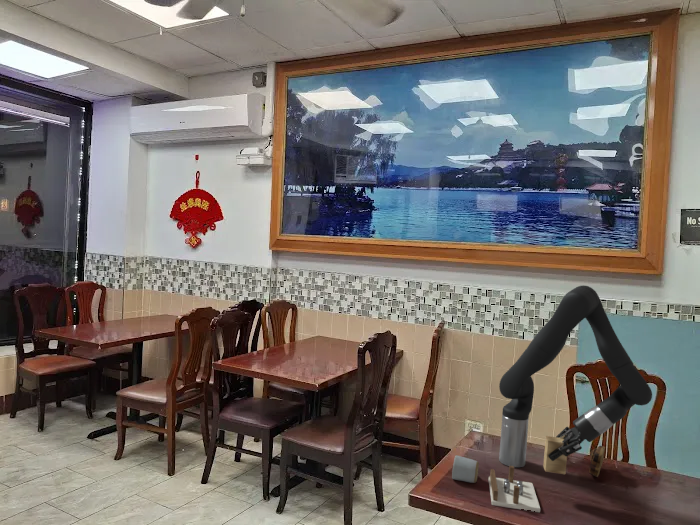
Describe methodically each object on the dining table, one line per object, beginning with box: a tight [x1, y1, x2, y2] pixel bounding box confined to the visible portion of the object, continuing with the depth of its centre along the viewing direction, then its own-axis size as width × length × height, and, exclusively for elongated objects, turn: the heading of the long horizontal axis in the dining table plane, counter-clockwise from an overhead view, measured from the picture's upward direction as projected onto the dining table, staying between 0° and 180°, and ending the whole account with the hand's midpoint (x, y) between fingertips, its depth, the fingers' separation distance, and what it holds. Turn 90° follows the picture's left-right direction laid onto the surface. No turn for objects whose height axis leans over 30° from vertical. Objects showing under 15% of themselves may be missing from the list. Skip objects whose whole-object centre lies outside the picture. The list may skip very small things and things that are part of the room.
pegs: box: [503, 478, 523, 496], centre depth 164 cm, size 6×4×3 cm
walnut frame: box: [489, 466, 519, 504], centre depth 164 cm, size 7×16×5 cm, turn 168°
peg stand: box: [488, 476, 541, 513], centre depth 164 cm, size 14×17×1 cm
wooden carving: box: [588, 445, 606, 478], centre depth 183 cm, size 16×5×10 cm, turn 152°
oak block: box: [542, 435, 568, 475], centre depth 164 cm, size 6×4×10 cm, turn 79°
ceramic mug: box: [451, 454, 480, 484], centre depth 174 cm, size 11×8×8 cm
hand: (548, 455), depth 164 cm, fingers closed on oak block, 4 cm apart
